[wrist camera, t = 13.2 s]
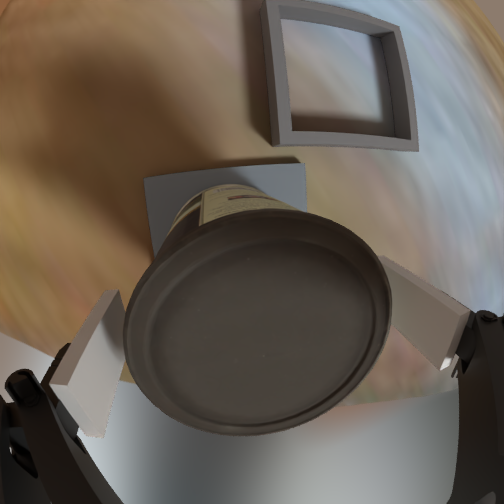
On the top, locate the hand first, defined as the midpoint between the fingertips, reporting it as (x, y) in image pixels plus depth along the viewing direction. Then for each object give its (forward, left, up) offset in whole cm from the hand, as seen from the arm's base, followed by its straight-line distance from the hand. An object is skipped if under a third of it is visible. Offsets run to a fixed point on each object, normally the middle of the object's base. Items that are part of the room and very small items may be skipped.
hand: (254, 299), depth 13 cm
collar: (-15, +11, -11) cm, 21 cm away
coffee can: (0, 0, -10) cm, 10 cm away
